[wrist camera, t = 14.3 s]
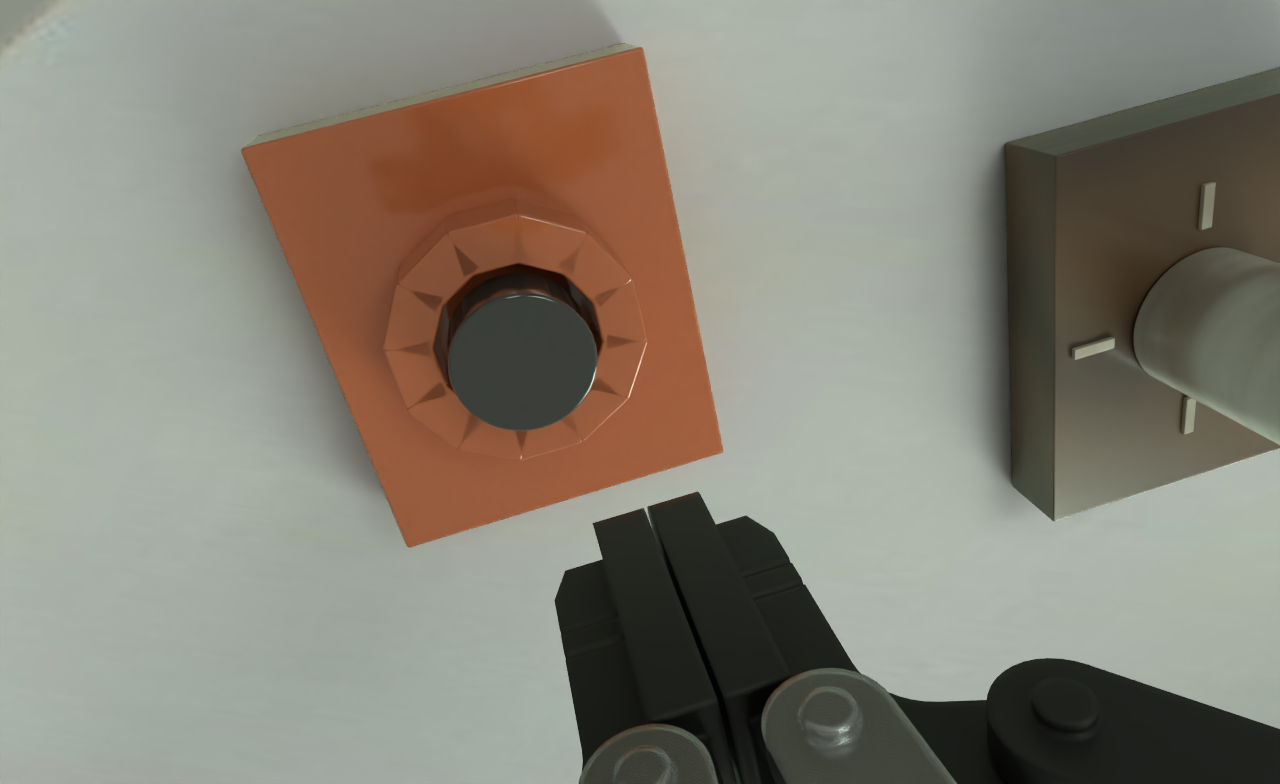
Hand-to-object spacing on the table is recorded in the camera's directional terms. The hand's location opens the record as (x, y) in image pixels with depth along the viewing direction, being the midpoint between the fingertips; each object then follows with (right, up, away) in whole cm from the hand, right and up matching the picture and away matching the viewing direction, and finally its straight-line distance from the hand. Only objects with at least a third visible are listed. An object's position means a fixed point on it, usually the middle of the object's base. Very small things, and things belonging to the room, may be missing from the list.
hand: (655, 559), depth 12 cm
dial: (+18, +5, +16) cm, 24 cm away
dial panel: (+17, +6, +18) cm, 26 cm away
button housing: (-4, +5, +14) cm, 15 cm away
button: (-3, +4, +10) cm, 12 cm away
